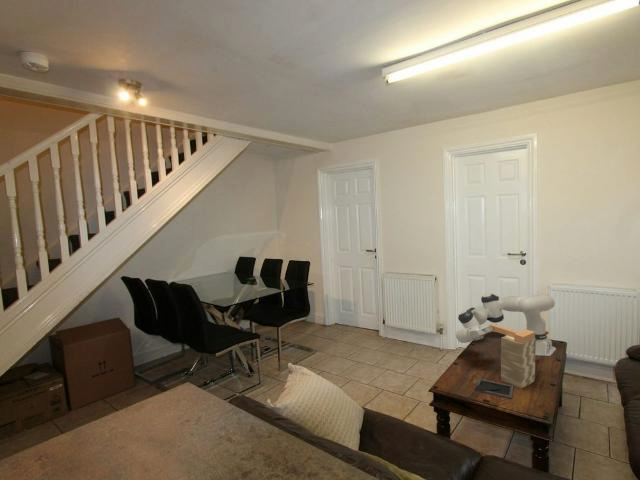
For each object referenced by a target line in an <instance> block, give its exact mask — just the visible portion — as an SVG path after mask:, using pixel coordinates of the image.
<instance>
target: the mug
mask: <svg viewBox="0 0 640 480" xmlns="http://www.w3.org/2000/svg"><path fill="white" fill-rule="evenodd" d="M539 364H540V359H539V358H538V357H535V379H536V378H538V374H539Z"/></svg>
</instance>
